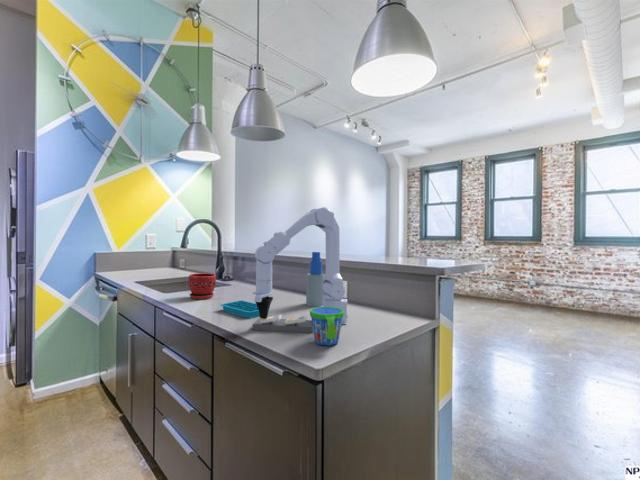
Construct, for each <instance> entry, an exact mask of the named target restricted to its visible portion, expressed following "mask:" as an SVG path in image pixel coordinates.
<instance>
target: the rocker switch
mask: <svg viewBox="0 0 640 480" xmlns="http://www.w3.org/2000/svg"><path fill="white" fill-rule="evenodd" d="M286 319H287V320H286V321H285V325H286V324H292V323H299V322H305V321H306V320H308V319H307V315H304V316H298V317H291V318H286Z"/></svg>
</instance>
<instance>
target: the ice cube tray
mask: <svg viewBox="0 0 640 480" xmlns="http://www.w3.org/2000/svg"><path fill="white" fill-rule="evenodd" d="M220 307H222V310H223V312H226V313H227V314H233V315H236V316H240V317H243V318H246V319H253V318H256V317H260V314H259V310H258V307H257V304H256V303H255V302H252V301H251V302H250V301H247V300H246V301H245V300H235V301H231V302H227V303H220ZM270 308H271V307H269V309H270Z"/></svg>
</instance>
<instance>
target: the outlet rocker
mask: <svg viewBox="0 0 640 480" xmlns="http://www.w3.org/2000/svg"><path fill="white" fill-rule="evenodd" d="M280 319H283V318H282V314H278V315H271V316H267V318H266V319H263V318H262V319H261V320H260V324H261V323H266V322H272V321H278V320H280Z"/></svg>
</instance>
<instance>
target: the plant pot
mask: <svg viewBox="0 0 640 480" xmlns="http://www.w3.org/2000/svg"><path fill="white" fill-rule="evenodd" d="M216 283H217V274H215V273H205V272H204V273H203V272H202V273H190V274H189V275H188V286H189V290H190V292H191V293H189V297H190V298H191V299H193V300H206V299H211V298H212V297H213V296H214V295H215V293H213V292H214V291H215V288H216V285H217V284H216Z"/></svg>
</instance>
